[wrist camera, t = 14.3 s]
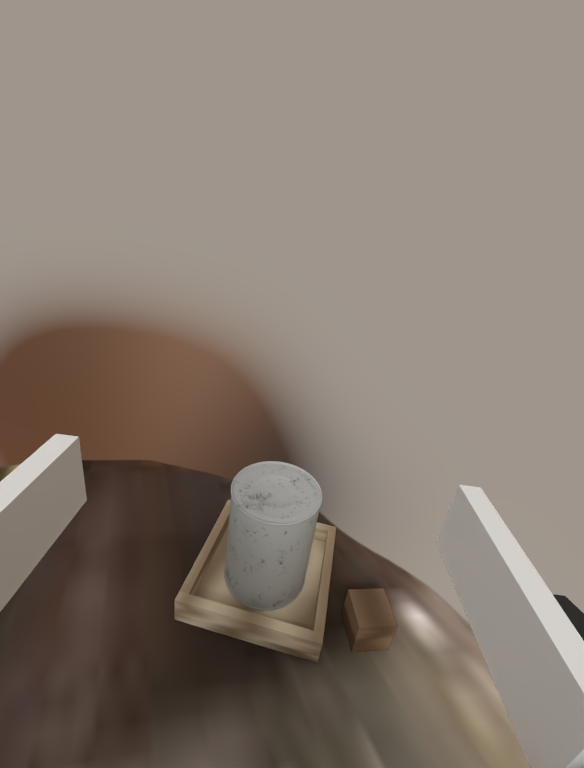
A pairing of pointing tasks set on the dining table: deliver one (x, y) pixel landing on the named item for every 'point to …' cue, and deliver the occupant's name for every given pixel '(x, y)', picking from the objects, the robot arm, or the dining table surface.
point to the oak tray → (265, 628)
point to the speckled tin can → (270, 533)
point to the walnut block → (368, 620)
